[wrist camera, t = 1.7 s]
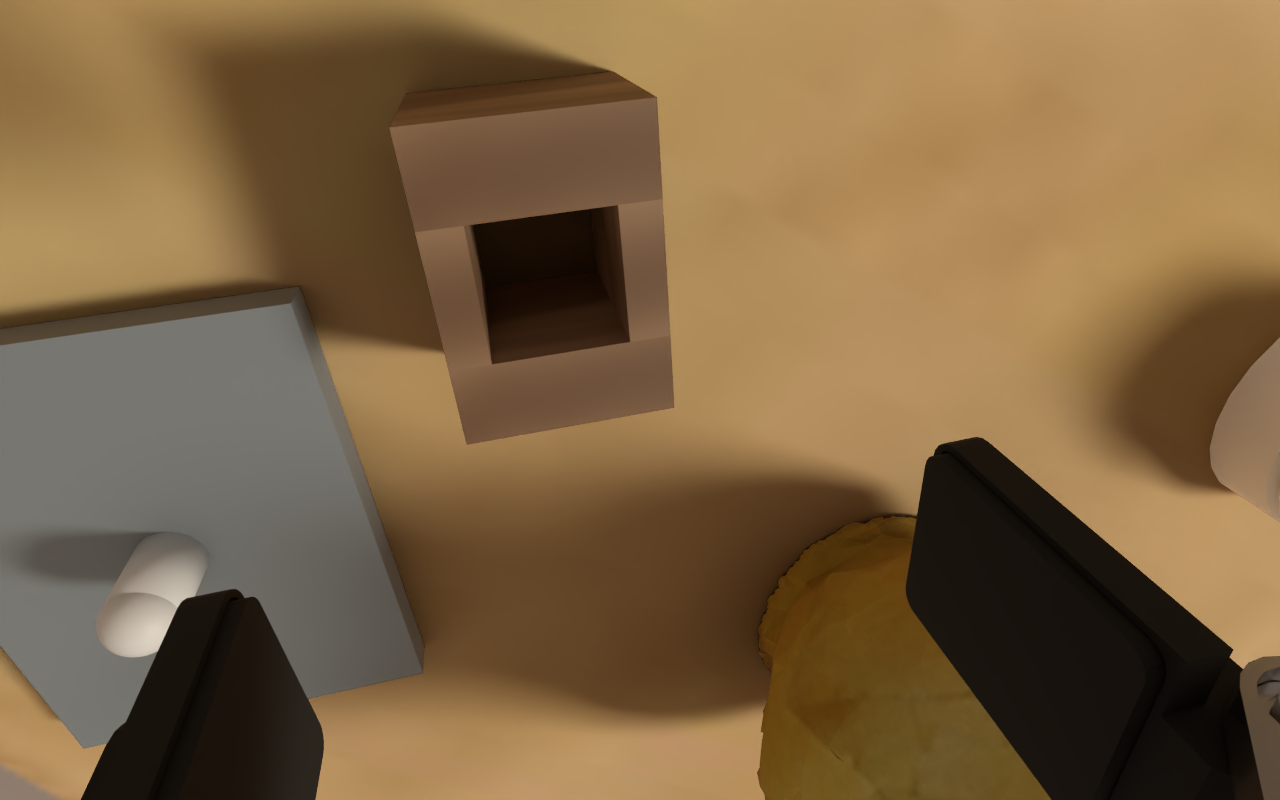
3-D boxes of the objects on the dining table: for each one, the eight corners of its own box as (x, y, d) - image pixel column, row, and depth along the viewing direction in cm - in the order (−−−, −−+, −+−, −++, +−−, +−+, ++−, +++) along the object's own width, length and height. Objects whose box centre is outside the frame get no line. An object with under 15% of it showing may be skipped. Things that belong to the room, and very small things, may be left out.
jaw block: (406, 93, 21) (388, 127, 16) (613, 71, 22) (657, 97, 17) (465, 355, 26) (466, 444, 21) (634, 328, 27) (674, 407, 22)
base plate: (-179, 353, 22) (-361, 460, 17) (299, 286, 24) (258, 363, 19) (99, 717, 31) (32, 851, 26) (424, 646, 33) (417, 759, 28)
